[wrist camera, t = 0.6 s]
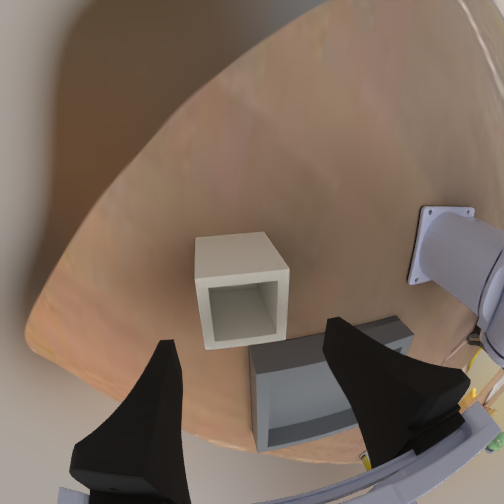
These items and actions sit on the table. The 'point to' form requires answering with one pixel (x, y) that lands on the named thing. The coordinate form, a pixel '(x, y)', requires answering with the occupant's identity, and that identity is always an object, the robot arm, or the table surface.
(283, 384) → the tray
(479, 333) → the coffee press
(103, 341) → the table surface
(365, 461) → the supplement bottle
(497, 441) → the potted cactus
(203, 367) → the table surface
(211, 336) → the cup
